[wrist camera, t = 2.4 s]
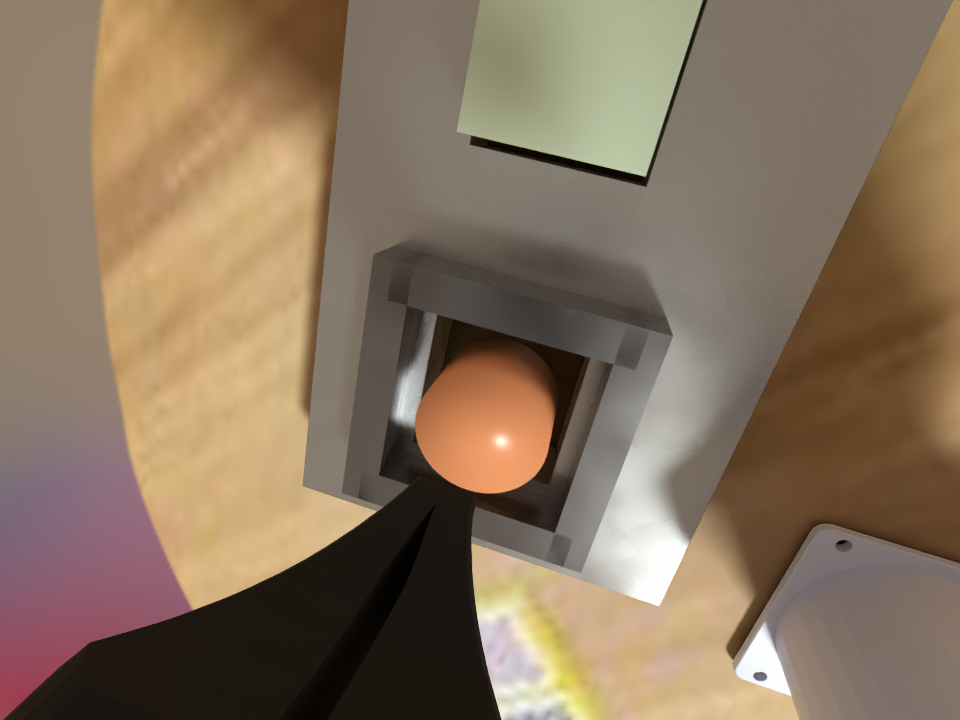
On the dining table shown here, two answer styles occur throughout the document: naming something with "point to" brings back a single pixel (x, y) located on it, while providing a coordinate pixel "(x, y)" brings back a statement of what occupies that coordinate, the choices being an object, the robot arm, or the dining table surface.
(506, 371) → the button
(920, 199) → the dining table surface
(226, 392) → the dining table surface
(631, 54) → the pale green block
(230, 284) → the dining table surface
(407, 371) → the control box
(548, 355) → the dining table surface
